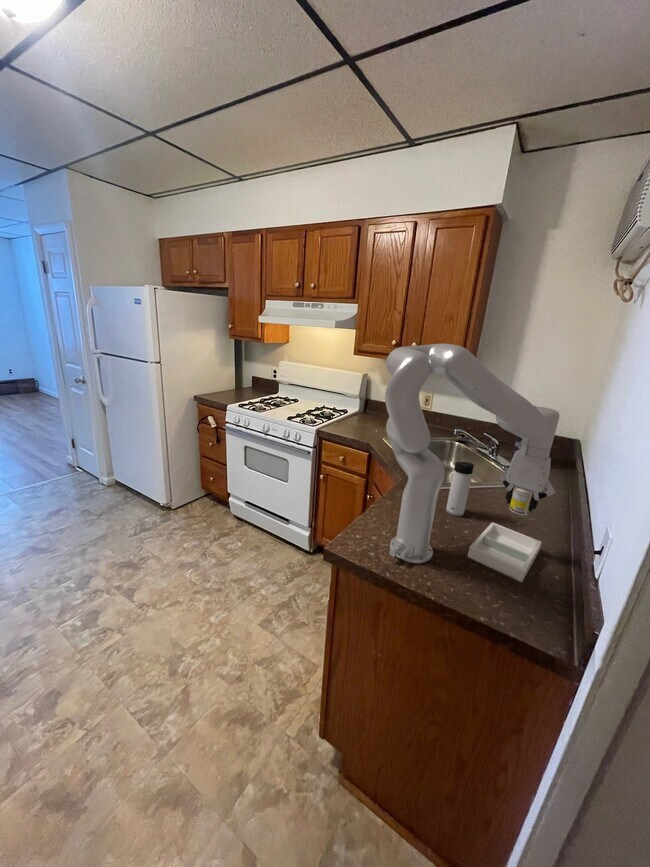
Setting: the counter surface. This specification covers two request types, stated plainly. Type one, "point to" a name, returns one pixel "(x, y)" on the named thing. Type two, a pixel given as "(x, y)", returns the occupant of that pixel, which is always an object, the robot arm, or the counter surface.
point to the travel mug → (459, 488)
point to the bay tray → (505, 551)
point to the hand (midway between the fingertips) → (520, 505)
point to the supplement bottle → (521, 500)
